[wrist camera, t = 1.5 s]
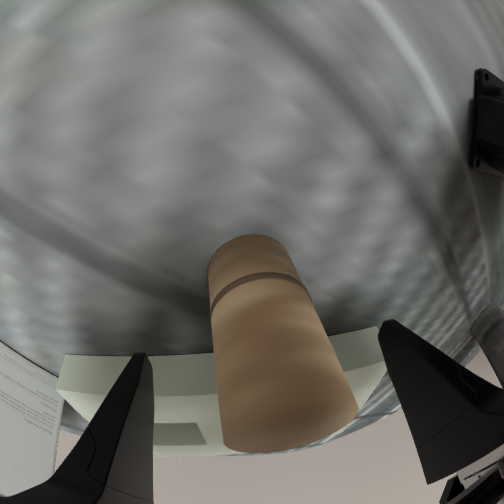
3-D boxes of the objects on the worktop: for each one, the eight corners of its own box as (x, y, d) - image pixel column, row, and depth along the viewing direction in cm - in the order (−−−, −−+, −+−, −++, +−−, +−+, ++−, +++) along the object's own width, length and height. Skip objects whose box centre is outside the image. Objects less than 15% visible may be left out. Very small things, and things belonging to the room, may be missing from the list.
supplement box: (-5, 368, 15) (-32, 474, 5) (-2, 337, 13) (-43, 473, 3) (55, 404, 19) (41, 510, 8) (72, 383, 17) (55, 521, 6)
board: (376, 325, 18) (395, 357, 15) (333, 409, 25) (341, 432, 23) (65, 354, 15) (55, 389, 12) (130, 430, 22) (129, 454, 20)
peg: (295, 230, 12) (380, 383, 6) (288, 298, 15) (339, 436, 8) (203, 237, 12) (213, 417, 5) (211, 306, 14) (227, 458, 7)
